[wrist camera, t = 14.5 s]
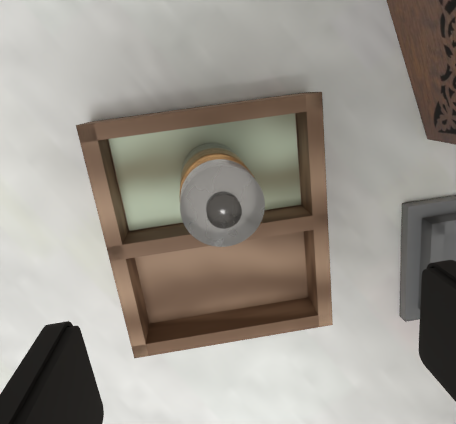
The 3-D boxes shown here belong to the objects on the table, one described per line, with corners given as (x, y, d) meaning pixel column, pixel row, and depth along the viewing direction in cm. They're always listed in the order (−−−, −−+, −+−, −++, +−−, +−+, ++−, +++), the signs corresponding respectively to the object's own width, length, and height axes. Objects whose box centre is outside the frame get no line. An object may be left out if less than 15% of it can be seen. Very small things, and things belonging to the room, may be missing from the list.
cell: (247, 196, 31) (274, 243, 22) (188, 208, 31) (189, 261, 22) (237, 136, 29) (261, 159, 20) (174, 148, 29) (169, 178, 20)
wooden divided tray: (318, 301, 36) (332, 324, 32) (140, 331, 35) (134, 358, 31) (306, 92, 30) (322, 91, 26) (90, 121, 29) (76, 125, 25)
